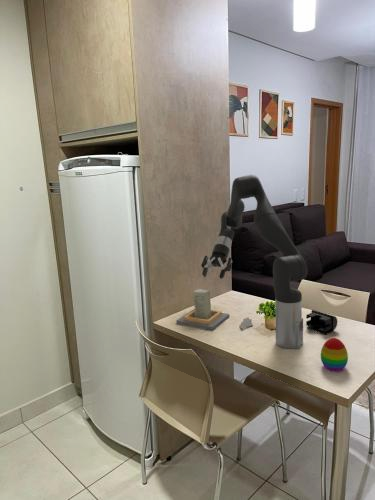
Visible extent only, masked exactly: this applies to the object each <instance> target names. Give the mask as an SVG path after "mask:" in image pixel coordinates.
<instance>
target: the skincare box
mask: <svg viewBox="0 0 375 500" xmlns="http://www.w3.org/2000/svg"><path fill="white" fill-rule="evenodd" d="M193 304H194V309H195V318H201V319H208V318H210V317H211V310H212V305H211V291H210V290H209V289H200V288H197V289H195V290H194V291H193Z"/></svg>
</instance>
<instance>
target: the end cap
mask: <svg viewBox="0 0 375 500" xmlns="http://www.w3.org/2000/svg"><path fill="white" fill-rule="evenodd" d="M305 318H306V319H308V320H306V322H305V323H306V324H305V325H306V329H307V330H310V331H313V332H315V333H319V334H321V335H325V336H327V335H329V334H331V333H333V332H334V331H335V330H336V328H337V326H338V318H337V317H336V315H333V314H329V313H326V312H322V311H319V310H317V309H312V310H311V312H310V313H308V314H306V316H305ZM309 318H310V319H309Z"/></svg>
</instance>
